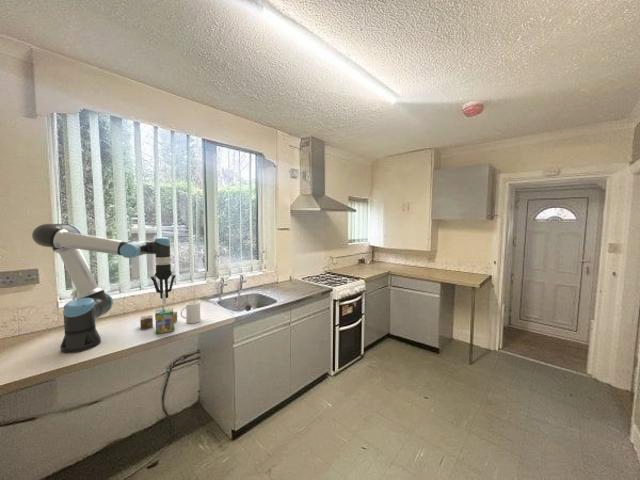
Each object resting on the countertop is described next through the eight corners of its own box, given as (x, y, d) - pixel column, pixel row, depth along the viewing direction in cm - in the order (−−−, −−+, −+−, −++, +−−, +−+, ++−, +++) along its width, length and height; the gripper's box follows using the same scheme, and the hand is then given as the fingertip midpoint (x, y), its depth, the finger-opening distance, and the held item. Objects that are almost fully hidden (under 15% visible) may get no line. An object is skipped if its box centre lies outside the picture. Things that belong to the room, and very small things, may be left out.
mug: (182, 326, 160) (182, 306, 159) (178, 322, 166) (178, 303, 165) (202, 321, 168) (202, 302, 167) (198, 317, 174) (197, 300, 173)
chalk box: (174, 331, 152) (173, 306, 151) (155, 334, 148) (154, 308, 147) (173, 325, 160) (173, 302, 159) (156, 328, 155) (155, 304, 155)
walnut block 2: (162, 324, 162) (162, 314, 162) (167, 321, 168) (167, 311, 168) (173, 324, 163) (172, 314, 162) (177, 320, 169) (176, 311, 168)
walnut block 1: (140, 329, 154) (140, 319, 153) (141, 326, 159) (140, 316, 159) (152, 327, 157) (152, 317, 157) (152, 324, 162) (152, 314, 162)
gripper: (148, 265, 145) (150, 306, 147) (175, 264, 150) (176, 304, 152) (151, 263, 152) (153, 303, 154) (176, 262, 157) (177, 300, 159)
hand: (164, 303), depth 153 cm, fingers closed
